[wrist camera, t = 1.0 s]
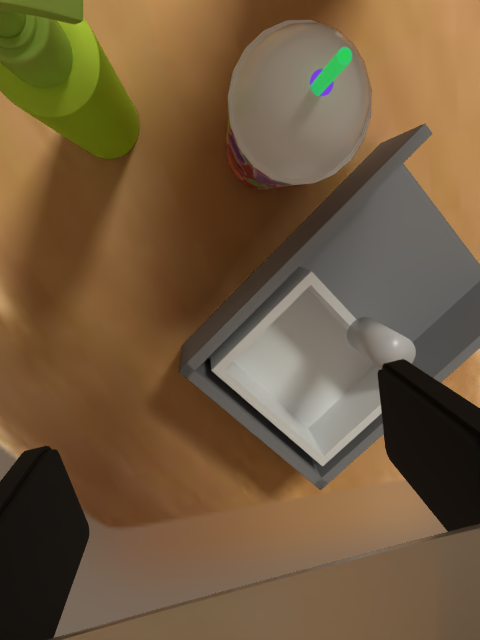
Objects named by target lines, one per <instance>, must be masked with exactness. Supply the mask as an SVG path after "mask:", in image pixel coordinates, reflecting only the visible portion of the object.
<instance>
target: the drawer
mask: <svg viewBox="0 0 480 640" xmlns="http://www.w3.org/2000/svg"><path fill="white" fill-rule="evenodd" d="M415 354H416V350H415V346H414V344H413V342H412V341H411V340H410V339H408V338H406V337H405V336H403V335H401V334H399V333H397V332H395V331H394V330H392V329H390V328H388V327H386V326H385V325H383V324H381V323H379V322H377V321H375V320H374V319H372V318H369V317H362V318H359V319H356V318H355V317H354V316H353V315H352V314H351V313H350V312H349V311H348V310H347V309H346V308H345V307H344V305H343V304H342V303H341V302H340V301H339V300H338V299H337V298H336V297H335V296H334V295H333V294H332V293H331V292H330V290H329V289H328V288H327V287H326V286H325V285H324V284H323V283H322V282H321V281H320V280H319V279H318V278H317V277H316V275H315V274H314V273H313V272H312V271H310V270H307V269H305V268H303V267H300V266H299V267H298V268H297V269H296V270H295V271H294V272H293V273H292V274H291V275H290V276H289V277H288V278H287V279H286V280H285V281H284V282H283V283H282V284H281V285H280V286H279V287H278V288H277V289H276V290H275V291H274V292H273V293H272V294H271V295H270V296H269V297H268V298H267V299H266V300H265V301H264V302H263V303H262V304H261V305H260V306H259V307H258V308H257V309H256V310H255V311H254V312H253V313H252V314H251V315H250V316H249V317H248V318H247V319H246V320H245V321H244V322H243V323H242V324H241V325H240V326H239V327H238V328H237V329H236V330H235V331H234V332H233V333H232V334H231V335H230V336H229V337H228V338H227V339H226V340H225V341H224V342H223V343H222V344H221V345H220V346H219V347H218V348H217V349H216V350H215V351H214V352H213V353H212V354H211V355H210V359H211V371H213V372H214V373H215V374H216V375H217V376H218V377H219V378H221V379H222V380H223V381H224V382H225V383H226V384H228V385H229V386H230V387H231V388H232V389H233V390H235V391H236V392H237V393H238V394H239V395H240V396H241V397H243V398H244V399H245V400H246V401H247V402H248V403H250V404H251V405H252V406H253V407H254V408H255V409H257V410H258V411H259V412H260V413H261V414H262V415H263V416H265V417H266V418H267V419H268V420H269V421H270V422H272V423H273V424H274V425H275V426H276V427H277V428H279V429H280V430H281V431H282V432H283V433H284V434H285V435H287V436H288V437H289V438H290V439H291V440H292V441H294V442H295V443H296V444H297V445H298V446H299V447H301V448H302V449H303V450H304V451H305V452H306V453H308V454H309V455H310V456H311V457H312V458H313V459H314V460H316V461H317V462H318V463H319V464H320V465H321V466H324V465H325V464H326V463H327V462H328V461H329V460H330V459H332V458H333V457H334V456H335V455H336V454H337V453H338V452H339V451H340V450H341V449H343V448H344V447H345V446H346V445H347V444H348V443H349V442H350V441H351V440H353V439H354V438H355V437H356V436H357V435H358V434H359V433H360V432H361V431H363V430H364V429H365V428H366V427H367V426H368V425H369V424H370V423H371V422H372V421H374V420H375V419H376V418H377V417H378V416H379V415H380V414H381V413H382V412H381V403H380V394H379V384H378V370H381V369H382V366H383V364H384V363H388V362H392V361H397V360H401V359H405V360H407V361H408V362H410V363H411V364H412V363H413V361H414V359H415Z"/></svg>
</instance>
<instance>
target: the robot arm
mask: <svg viewBox="0 0 480 640" xmlns="http://www.w3.org/2000/svg"><path fill="white" fill-rule="evenodd" d="M378 384H379V394H380V403H381V412H382V421H383V430H384V439H385V448H386V452H387V455H388V457H389V459H390V460H391V462H392V463H393V464H394V466H395V467H396V468H397V469H398V470H399V472H400V473H401V474H402V475H403V477H404V478H405V479H406V480H407V482H408V483H409V484H410V485H411V486H412V488H413V489H414V490H415V491H416V493H417V494H418V495H419V496H420V498H421V499H422V500H423V501H424V503H425V504H426V505H427V506H428V508H429V509H430V510H431V511H432V512H433V514H434V515H435V516H436V517H437V519H438V520H439V521H440V522H441V524H442V525H443V526H444V527H445V529H446V530H447V531H448V532H446V533H442V534H438V535H434V536H430V537H426V538H421V539H418V540H414V541H410V542H406V543H402V544H399V545H395V546H391V547H387V548H383V549H380V550H376V551H372V552H368V553H364V554H361V555H357V556H353V557H349V558H345V559H342V560H338V561H334V562H330V563H327V564H323V565H319V566H315V567H312V568H308V569H304V570H300V571H296V572H293V573H289V574H285V575H281V576H278V577H274V578H270V579H267V580H263V581H259V582H256V583H252V584H248V585H245V586H241V587H237V588H233V589H230V590H226V591H222V592H219V593H215V594H211V595H208V596H204V597H201V598H197V599H193V600H189V601H186V602H182V603H178V604H175V605H171V606H167V607H163V608H160V609H156V610H152V611H149V612H146V613H142V614H138V615H134V616H131V617H128V618H124V619H120V620H117V621H113V622H109V623H106V624H102V625H98V626H95V627H91V628H88V629H84V630H80V631H77V632H73V633H70V634H66V635H62V636H59V637H55V638H53V637H54V635H55V632H56V629H57V626H58V623H59V620H60V618H61V615H62V612H63V609H64V606H65V603H66V601H67V598H68V595H69V592H70V589H71V586H72V584H73V581H74V578H75V575H76V573H77V570H78V567H79V564H80V561H81V558H82V556H83V553H84V550H85V547H86V544H87V541H88V538H89V526H88V523H87V520H86V518H85V515H84V513H83V510H82V508H81V506H80V503H79V501H78V498H77V496H76V493H75V491H74V489H73V486H72V484H71V481H70V479H69V476H68V474H67V472H66V469H65V467H64V464H63V462H62V459H61V457H60V454H59V453H58V451H57V450H55V449H53V450H52V449H51V448H50V447H49V446H44V447H40V448H36V449H31V450H27V451H24V452H23V453H22V454H21V456H20V457H19V458H18V459H17V461H16V462H15V463H14V465H13V466H12V467H11V469H10V470H9V471H8V472H7V474H6V475H5V476H4V478H3V479H2V480H1V481H0V640H480V408H478V407H477V406H475V405H474V404H472V403H471V402H469V401H468V400H466V399H465V398H463V397H461V396H460V395H458V394H457V393H455V392H454V391H452V390H451V389H449V388H448V387H446V386H445V385H443V384H442V383H440V382H439V381H437V380H436V379H434V378H433V377H431V376H429V375H428V374H426V373H425V372H423V371H422V370H420V369H419V368H417V367H416V366H414V365H413V364H411V363H410V362H408V361H407V360H405V359H401V360H397V361H392V362H388V363H384V364H383V366H382V369H381V370H378Z"/></svg>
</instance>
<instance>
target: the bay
mask: <svg viewBox="0 0 480 640" xmlns="http://www.w3.org/2000/svg"><path fill="white" fill-rule="evenodd" d="M431 135H432V132H431V131H430V130H429V128H428V127H427V125H426V124H423V125H421V126H418V127H416V128H414V129H412V130H409V131H407V132H405V133H403V134H400V135H398V136H396V137H394V138H391V139H389V140H387V141H385V142H382V143H381V144H380V145H379V146H378V147H377V148H376V149H375V150H374V151H373V152H372V153H371V154H370V155H369V156H368V157H367V158H366V159H365V160H364V161H363V162H362V163H361V164H360V165H359V166H358V167H357V168H356V169H355V170H354V171H353V172H352V173H351V174H350V175H349V176H348V177H347V178H346V179H345V180H344V181H343V182H342V183H341V184H340V185H339V186H338V187H337V188H336V189H335V190H334V191H333V192H332V193H331V194H330V196H329V197H328V198H327V199H326V200H325V201H324V202H323V203H322V204H321V205H320V206H319V207H318V208H317V209H316V210H315V211H314V212H313V213H312V214H311V215H310V216H309V217H308V218H307V219H306V220H305V221H304V222H303V223H302V224H301V225H300V226H299V227H298V228H297V229H296V230H295V231H294V232H293V233H292V234H291V235H290V236H289V237H288V238H287V239H286V240H285V241H284V242H283V243H282V244H281V245H280V246H279V247H278V248H277V249H276V250H275V251H274V252H273V253H272V254H271V255H270V256H269V258H268V259H267V260H266V261H265V262H264V263H263V264H262V265H261V266H260V267H259V268H258V269H257V270H256V271H255V272H254V273H253V274H252V275H251V276H250V277H249V278H248V279H247V280H246V281H245V282H244V283H243V284H242V285H241V286H240V287H239V288H238V289H237V290H236V291H235V292H234V293H233V294H232V295H231V296H230V297H229V298H228V299H227V300H226V301H225V302H224V303H223V304H222V305H221V306H220V307H219V308H218V309H217V310H216V311H215V312H214V313H213V314H212V315H211V316H210V317H209V318H208V320H207V321H206V322H205V323H204V324H203V325H202V326H201V327H200V328H199V329H198V330H197V331H196V332H195V333H194V334H193V335H192V336H191V337H190V338H189V339H188V340H187V341H186V342H185V343H184V344H183V345H182V351H181V358H180V365H179V372H180V373H181V374H182V375H183V376H184V377H186V378H187V379H188V380H189V381H190V382H192V383H193V384H194V385H195V386H196V387H198V388H199V389H200V390H201V391H202V392H204V393H205V394H206V395H207V396H208V397H210V398H211V399H212V400H213V401H214V402H216V403H217V404H218V405H219V406H220V407H222V408H223V409H224V410H225V411H226V412H228V413H229V414H230V415H231V416H232V417H234V418H235V419H236V420H237V421H238V422H240V423H241V424H242V425H243V426H244V427H246V428H247V429H248V430H249V431H250V432H252V433H253V434H254V435H255V436H256V437H258V438H259V439H260V440H261V441H262V442H264V443H265V444H266V445H267V446H268V447H270V448H271V449H272V450H273V451H274V452H276V453H277V454H278V455H279V456H280V457H281V458H283V459H284V460H285V461H286V462H287V463H289V464H290V465H291V466H292V467H293V468H295V469H296V470H297V471H298V472H299V473H301V474H302V475H303V476H304V477H305V478H307V479H308V480H309V481H310V482H311V483H313V484H314V485H315V486H316V487H317V488H319V489H320V490H321V489H322V488H324V487H325V486H326V485H327V484H328V483H329V482H330V481H331V480H333V479H334V478H335V477H336V476H337V475H338V474H339V473H340V472H341V471H343V470H344V469H345V468H346V467H347V466H348V465H349V464H350V463H352V462H353V461H354V460H355V459H356V458H357V457H358V456H359V455H360V454H362V453H363V452H364V451H365V450H366V449H367V448H368V447H369V446H371V445H372V444H373V443H374V442H375V441H376V440H377V439H378V438H379V437H381V436H382V435H383V434H384V430H383V421H382V413H381V414H380V415H379V416H378V417H377V418H376V419H375V420H374V421H372V422H371V423H370V424H369V425H368V426H367V427H366V428H365V429H364V430H363V431H361V432H360V433H359V434H358V435H357V436H356V437H355V438H354V439H353V440H351V441H350V442H349V443H348V444H347V445H346V446H345V447H344V448H343V449H341V450H340V451H339V452H338V453H337V454H336V455H335V456H334V457H333V458H332V459H330V460H329V461H328V462H327V463H326V464H325V465H324V466H321V465H320V464H319V463H318V462H317V461H316V460H314V459H313V458H312V457H311V456H310V455H309V454H308V453H306V452H305V451H304V450H303V449H302V448H301V447H299V446H298V445H297V444H296V443H295V442H294V441H292V440H291V439H290V438H289V437H288V436H287V435H285V434H284V433H283V432H282V431H281V430H280V429H279V428H277V427H276V426H275V425H274V424H273V423H272V422H270V421H269V420H268V419H267V418H266V417H265V416H263V415H262V414H261V413H260V412H259V411H258V410H257V409H255V408H254V407H253V406H252V405H251V404H250V403H248V402H247V401H246V400H245V399H244V398H243V397H241V396H240V395H239V394H238V393H237V392H236V391H235V390H233V389H232V388H231V387H230V386H229V385H228V384H226V383H225V382H224V381H223V380H222V379H221V378H219V377H218V376H217V375H216V374H215V373H214V372H213V371H211V359H210V355H211V354H212V353H213V352H214V351H215V350H216V349H217V348H218V347H219V346H220V345H221V344H222V343H223V342H224V341H225V340H226V339H227V338H228V337H229V336H230V335H231V334H232V333H233V332H234V331H235V330H236V329H237V328H238V327H239V326H240V325H241V324H242V323H243V322H244V321H245V320H246V319H247V318H248V317H249V316H250V315H251V314H252V313H253V312H254V311H255V310H256V309H257V308H258V307H259V306H260V305H261V304H262V303H263V302H264V301H265V300H266V299H267V298H268V297H269V296H270V295H271V294H272V293H273V292H274V291H275V290H276V289H277V288H278V287H279V286H280V285H281V284H282V283H283V282H284V281H285V280H286V279H287V278H288V277H289V276H290V275H291V274H292V273H293V272H294V271H295V270H296V269H297V268H298V267H299V266H300V267H303V268H305V269H307V270H310V271H312V272H313V273H314V274H315V275H316V277H317V278H318V279H319V280H320V281H321V282H322V283H323V284H324V285H325V286H326V287H327V288H328V289H329V290H330V292H331V293H332V294H333V295H334V296H335V297H336V298H337V299H338V300H339V301H340V302H341V303H342V304H343V305H344V307H345V308H346V309H347V310H348V311H349V312H350V313H351V314H352V315H353V316H354V317H355V318H356V319H359V318H362V317H369V318H372V319H374V320H375V321H377V322H379V323H381V324H383V325H385V326H386V327H388V328H390V329H392V330H394V331H395V332H397V333H399V334H401V335H403V336H405V337H406V338H408V339H410V340H411V341H412V342H413V344H414V346H415V350H416V354H415V359H414V361H413V363H412V364H413V365H414V366H416V367H417V368H419V369H420V370H422V371H423V372H425V373H426V374H428V375H429V376H431V377H433V378H434V379H436V380H437V381H439V382H440V383H441V382H442V381H443V380H444V379H445V378H447V377H448V376H449V375H450V374H451V373H452V372H453V371H454V370H456V369H457V368H458V367H459V366H460V365H461V364H462V363H463V362H464V361H466V360H467V359H468V358H469V357H470V356H471V355H472V354H473V353H475V352H476V351H477V350H478V349H479V348H480V264H479V263H478V262H477V261H476V259H475V258H474V257H473V255H472V254H471V253H470V251H469V250H468V249H467V247H466V246H465V245H464V243H463V242H462V241H461V239H460V238H459V237H458V235H457V234H456V233H455V231H454V230H453V229H452V227H451V226H450V225H449V223H448V222H447V221H446V219H445V218H444V217H443V215H442V214H441V213H440V211H439V210H438V209H437V207H436V206H435V205H434V204H433V202H432V201H431V200H430V198H429V197H428V196H427V194H426V193H425V192H424V190H423V189H422V188H421V186H420V185H419V184H418V182H417V181H416V180H415V178H414V177H413V176H412V174H411V173H410V172H409V170H408V169H407V168H406V166H405V165H404V164H403V163H404V162H405V161H406V160H407V159H408V158H409V157H410V156H411V155H412V154H413V153H414V152H415V151H416V150H417V149H418V148H419V147H420V146H421V145H422V144H423V143H424V142H425V141H426V140H427V139H428V138H429V137H430V136H431Z"/></svg>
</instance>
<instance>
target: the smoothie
mask: <svg viewBox="0 0 480 640" xmlns="http://www.w3.org/2000/svg"><path fill="white" fill-rule="evenodd" d="M371 93H372V89H371V86H370V81H369V77H368V74H367V70H366V66H365V62H364V60H363V58H362V57H361V55H360V53H359V52H358V50H357V49H356V47H355V45H354V44H353V42H352V41H350V40H349V39H348V38H347V37H346V36H344V35H343V34H342V33H341V32H340V31H339V30H337V29H335V28H333V27H331V26H328V25H325V24H322V23H319V22H316V21H314V20H311V19H308V20H286V21H284V22H281V23H279V24H277V25H275V26H272V27H270V28H268V29H265V30H264V31H263V32H261V33H260V34H259V35H258V36H257V37H256V38H255V39H254V40H253V41H252V42H251V43H250V44H249V45H248V46H247V47H246V48H245V49H244V51H243V53H242V55H241V57H240V59H239V61H238V63H237V64H236V66H235V68H234V70H233V73H232V78H231V83H230V88H229V92H228V97H227V98H228V123H227V142H226V150H227V159H228V162H229V165H230V167H231V169H232V172H233V173H234V174H235V175H236V176H237V178H238V179H239V180H240V181H241V182H243V183H244V184H246V185H248V186H249V187H251V188H256V189H260V190H265V189H273V188H279V187H285V186H291V185H300V184H314V183H316V182H319V181H321V180H323V179H326V178H328V177H330V176H332V175H334V174H336V173H337V172H338V171H339V170H340V169H341V168H342V167H344V166H345V165H346V164H347V163H348V162H349V161H350V160H352V158H353V156H354V155H355V153H356V152H357V150H358V148H359V147H360V145H361V143H362V142H363V140H364V138H365V135H366V131H367V128H368V124H369V121H370V118H371Z"/></svg>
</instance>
